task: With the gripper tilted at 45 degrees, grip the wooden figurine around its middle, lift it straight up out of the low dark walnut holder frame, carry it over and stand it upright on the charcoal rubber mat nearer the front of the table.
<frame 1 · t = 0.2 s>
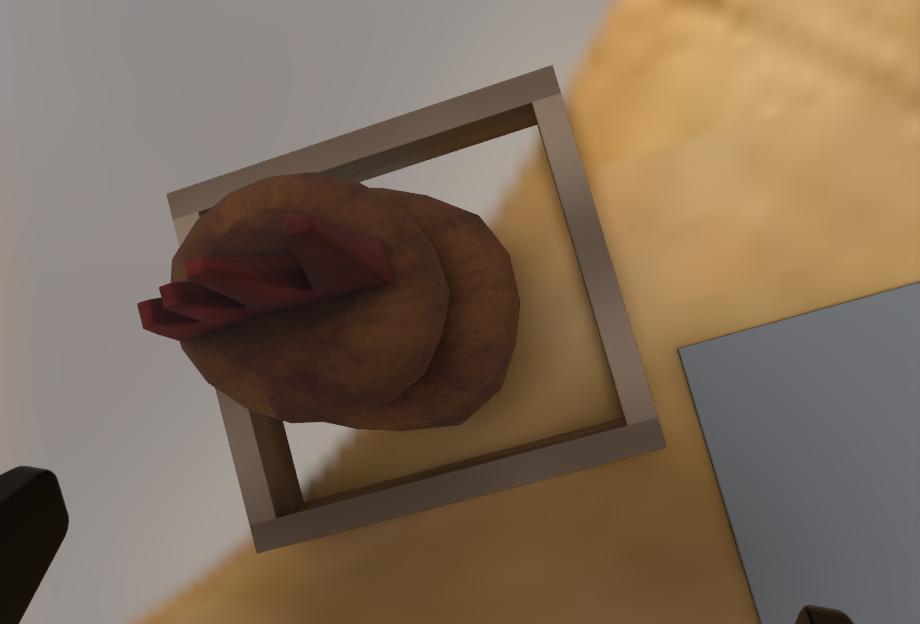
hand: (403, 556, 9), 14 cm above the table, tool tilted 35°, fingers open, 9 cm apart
walnut holder frame: (418, 316, 24), on the table
wooden figurine: (420, 316, 24), resting in walnut holder frame
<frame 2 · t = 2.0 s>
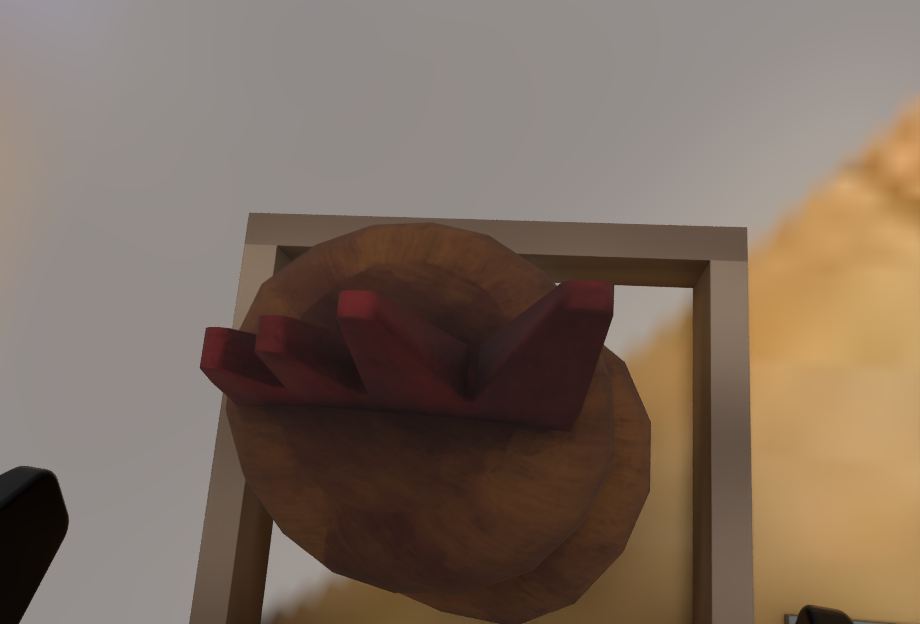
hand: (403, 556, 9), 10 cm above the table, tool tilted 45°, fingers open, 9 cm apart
walnut holder frame: (481, 457, 19), on the table
wooden figurine: (482, 458, 20), resting in walnut holder frame
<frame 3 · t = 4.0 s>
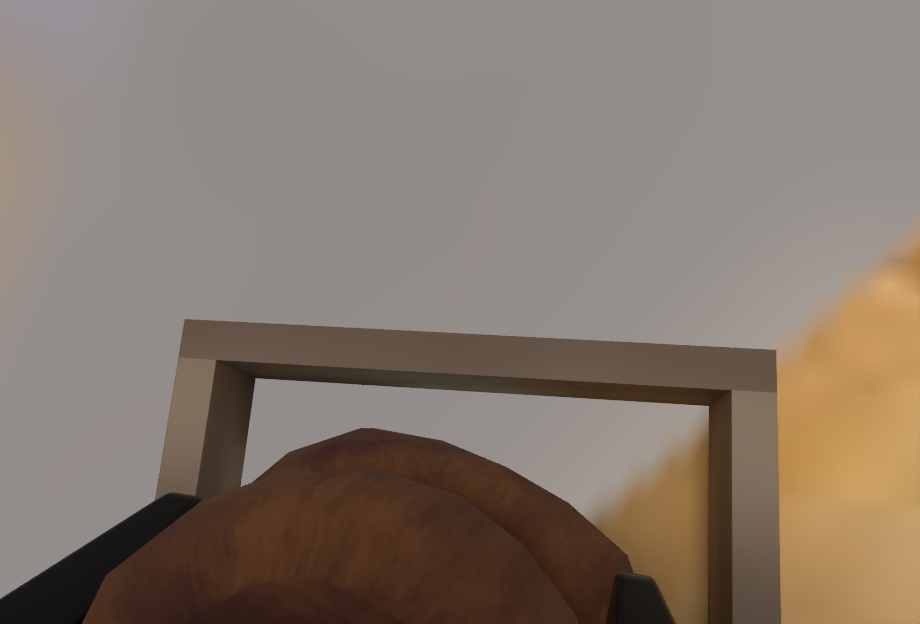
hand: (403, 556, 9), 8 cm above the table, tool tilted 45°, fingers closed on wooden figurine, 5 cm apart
walnut holder frame: (458, 608, 16), on the table
wooden figurine: (459, 607, 17), resting in walnut holder frame, touching gripper
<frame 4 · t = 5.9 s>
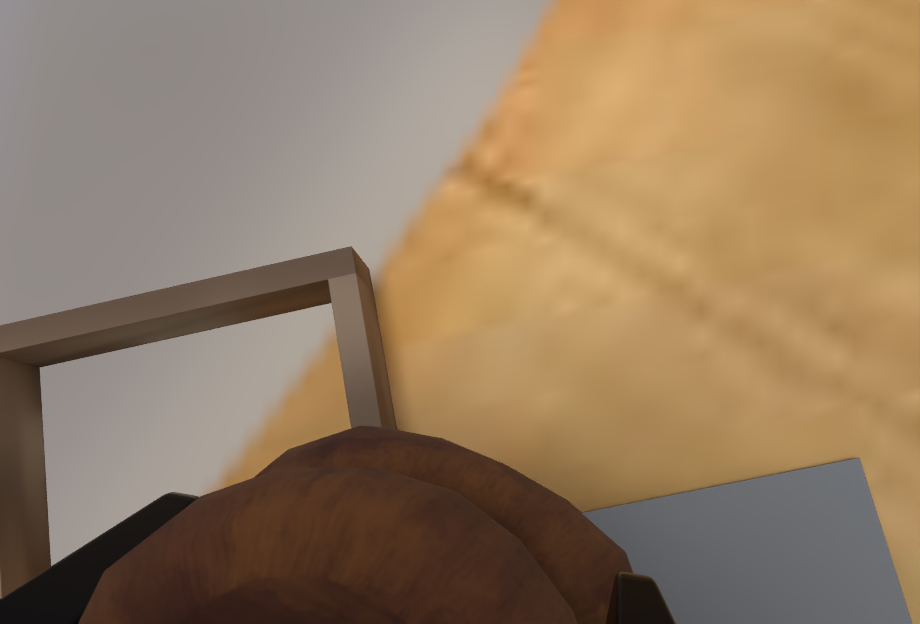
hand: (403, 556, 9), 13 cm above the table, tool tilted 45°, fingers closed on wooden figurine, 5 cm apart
walnut holder frame: (207, 479, 23), on the table
wooden figurine: (458, 604, 17), point 5 cm above the table, touching gripper
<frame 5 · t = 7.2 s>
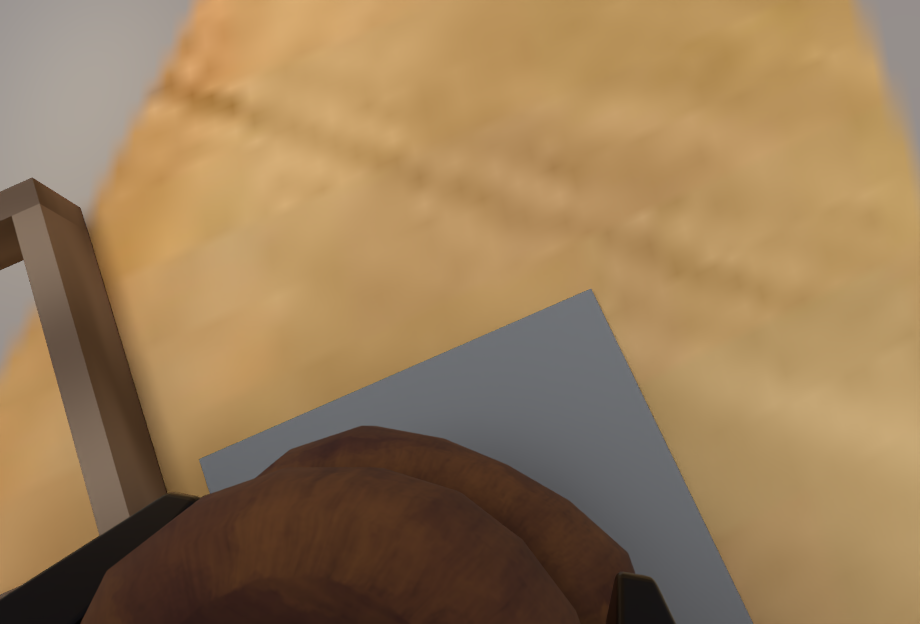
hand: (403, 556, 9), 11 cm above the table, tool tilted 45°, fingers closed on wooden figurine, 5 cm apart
charcoal mat: (478, 581, 19), on the table
wooden figurine: (460, 604, 17), point 3 cm above the table, touching gripper
when the fingers open (9 cm above the table, at t = 8.4 s): wooden figurine stays where it is, resting on charcoal mat.
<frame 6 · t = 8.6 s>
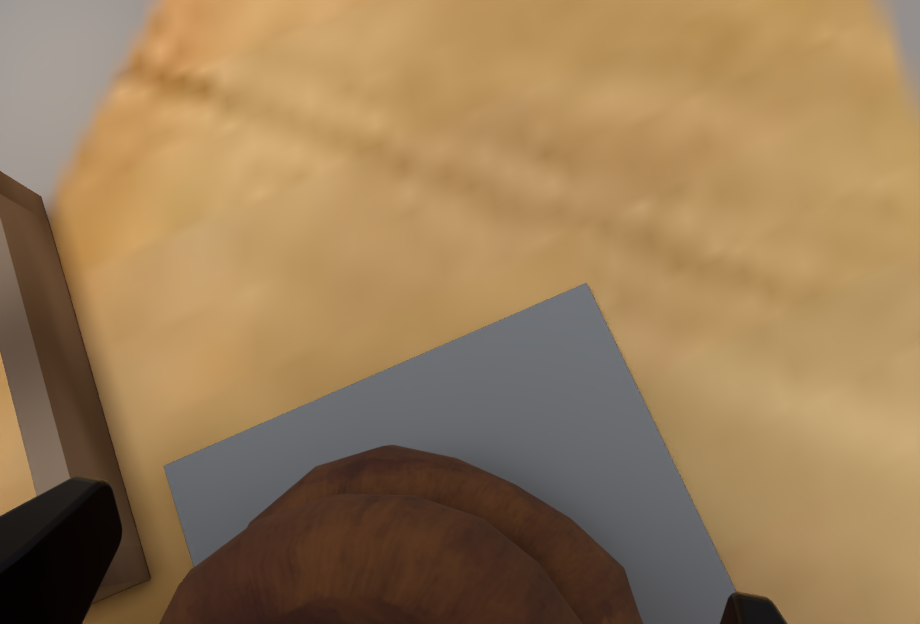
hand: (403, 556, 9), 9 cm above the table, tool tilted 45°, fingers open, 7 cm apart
charcoal mat: (464, 599, 18), on the table
wooden figurine: (461, 609, 18), resting on charcoal mat
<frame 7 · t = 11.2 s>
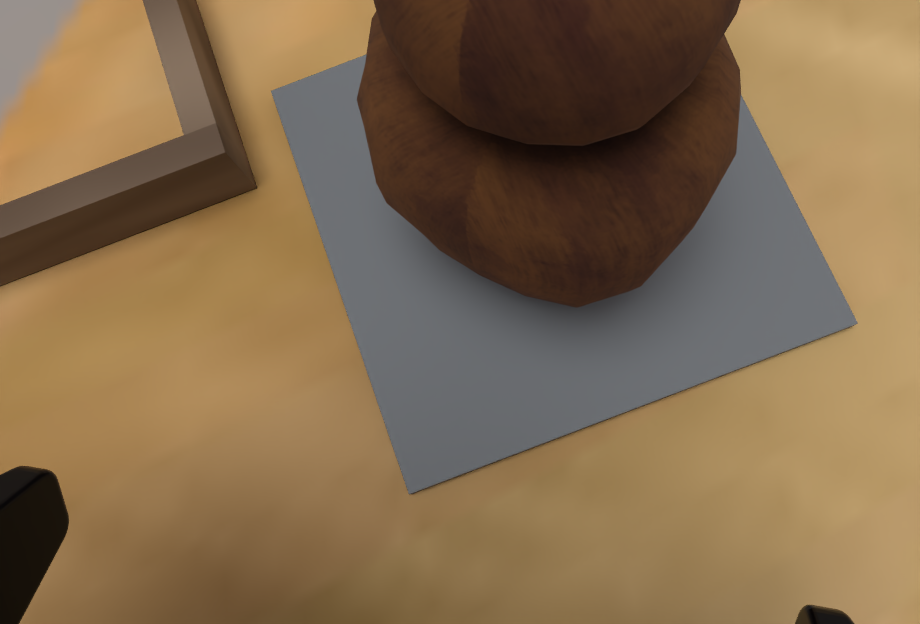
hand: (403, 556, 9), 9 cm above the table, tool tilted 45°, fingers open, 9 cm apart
charcoal mat: (544, 203, 20), on the table
walnut holder frame: (5, 95, 22), on the table
wooden figurine: (542, 209, 20), resting on charcoal mat
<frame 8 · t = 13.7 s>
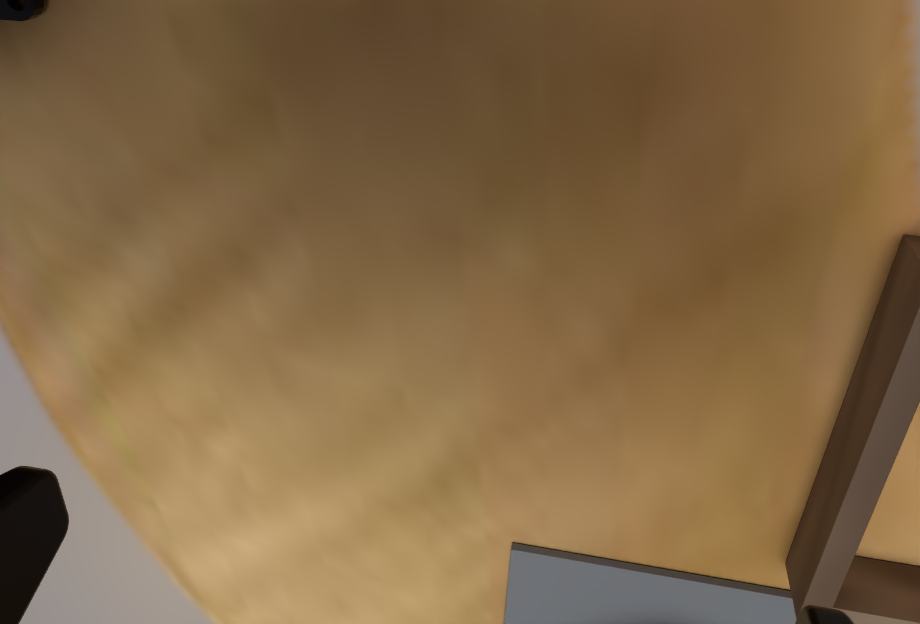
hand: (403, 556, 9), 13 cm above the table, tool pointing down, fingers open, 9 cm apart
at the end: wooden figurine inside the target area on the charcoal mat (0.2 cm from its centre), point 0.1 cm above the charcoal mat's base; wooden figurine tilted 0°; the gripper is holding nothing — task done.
